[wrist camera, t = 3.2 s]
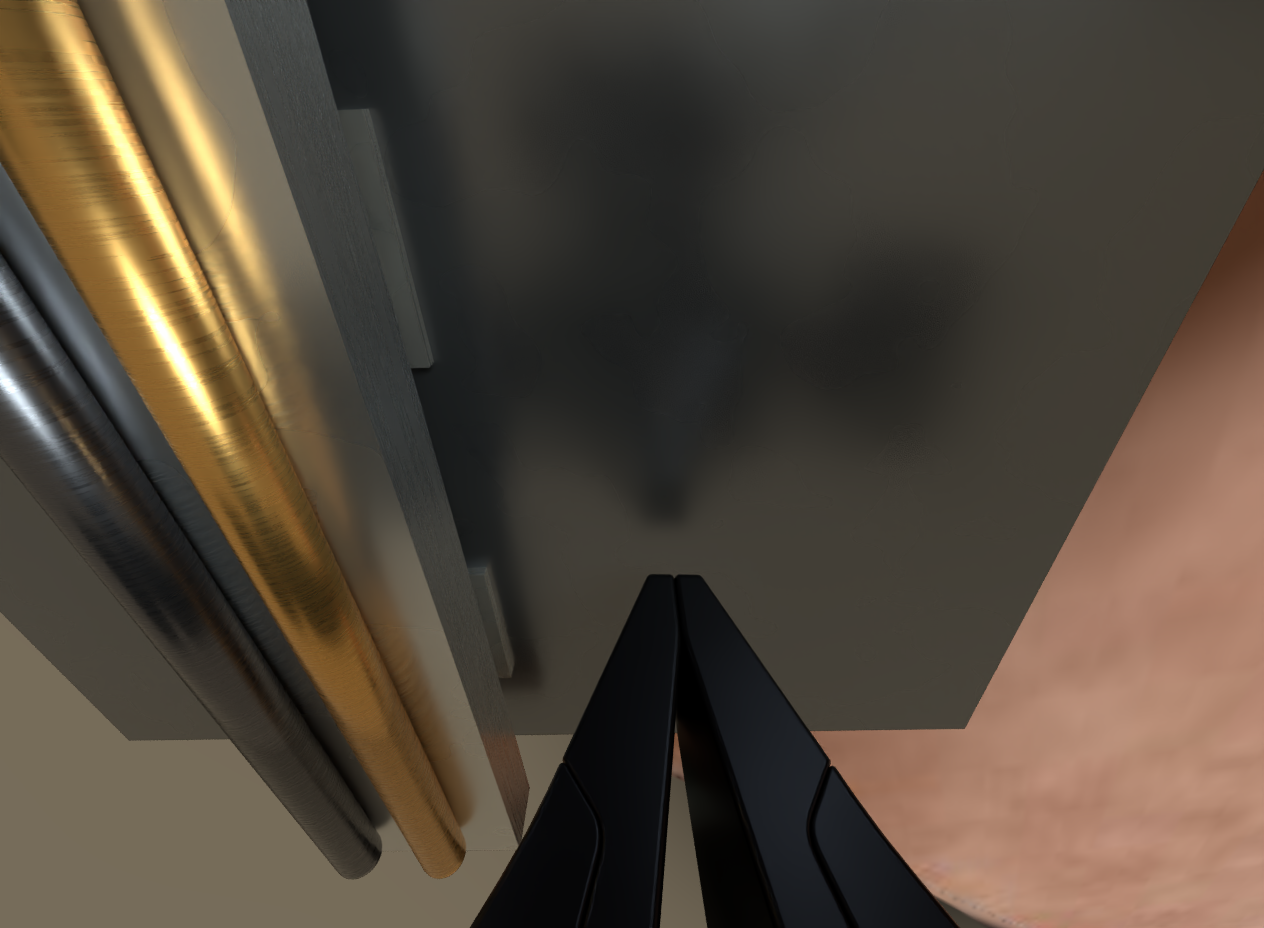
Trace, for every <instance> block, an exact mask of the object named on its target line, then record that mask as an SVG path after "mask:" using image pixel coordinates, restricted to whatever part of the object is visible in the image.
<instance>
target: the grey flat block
mask: <svg viewBox="0 0 1264 928" xmlns="http://www.w3.org/2000/svg"><path fill="white" fill-rule="evenodd" d="M306 1H307V5H308V8H309V12H310V15H311V19H312V22H313V26H314V29H315V33H316V36H317V40H318V43H319V47H320V50H321V54H322V58H323V61H324V65H325V68H326V72H327V75H328V79H329V82H330V86H331V89H332V93H333V96H334V100H335V103H336V107H337V110H338V114H339V117H340V121H341V124H342V128H343V132H344V135H345V139H346V142H347V146H348V149H349V153H350V156H351V160H352V163H353V167H354V170H355V174H356V177H357V181H358V184H359V188H360V191H361V195H362V198H363V202H364V206H365V209H366V213H367V216H368V220H369V223H370V227H371V230H372V234H373V237H374V241H375V244H376V248H377V251H378V255H379V258H380V262H381V265H382V269H383V272H384V276H385V280H386V283H387V287H388V290H389V294H390V297H391V301H392V304H393V308H394V311H395V315H396V318H397V322H398V325H399V329H400V332H401V336H402V339H403V343H404V347H405V350H406V354H407V357H408V361H409V364H410V368H411V371H412V375H413V378H414V382H415V385H416V389H417V392H418V396H419V399H420V403H421V406H422V410H423V413H424V417H425V421H426V424H427V428H428V431H429V435H430V438H431V442H432V445H433V449H434V452H435V456H436V459H437V463H438V466H439V470H440V473H441V477H442V480H443V484H444V487H445V491H446V495H447V498H448V502H449V505H450V509H451V512H452V516H453V519H454V523H455V526H456V530H457V533H458V537H459V540H460V544H461V547H462V551H463V554H464V558H465V562H466V565H467V569H468V572H469V576H470V579H471V583H472V586H473V590H474V593H475V597H476V600H477V604H478V607H479V611H480V614H481V618H482V621H483V625H484V628H485V632H486V636H487V639H488V643H489V646H490V650H491V653H492V657H493V660H494V664H495V667H496V671H497V674H498V678H499V681H500V685H501V688H502V692H503V695H504V699H505V702H506V706H507V710H508V713H509V717H510V720H511V724H512V727H513V731H514V734H515V735H549V734H550V735H551V734H552V735H555V734H556V735H557V734H574V733H575V731H576V728H577V726H578V724H579V722H580V720H581V718H582V716H583V713H584V711H585V709H586V707H587V705H588V703H589V700H590V698H591V696H592V694H593V692H594V690H595V687H596V685H597V683H598V681H599V679H600V677H601V675H602V672H603V670H604V668H605V666H606V664H607V662H608V659H609V657H610V655H611V653H612V651H613V649H614V646H615V644H616V642H617V640H618V638H619V636H620V634H621V631H622V629H623V627H624V625H625V623H626V621H627V618H628V616H629V614H630V612H631V610H632V608H633V606H634V603H635V601H636V599H637V597H638V595H639V593H640V590H641V588H642V586H643V584H644V582H645V580H646V578H647V576H648V575H650V574H671V575H673V577H674V578H675V576H676V575H678V574H694V575H700V576H702V577H703V579H704V580H705V581H706V583H707V584H708V586H709V587H710V589H711V590H712V591H713V593H714V594H715V596H716V597H717V599H718V600H719V602H720V603H721V604H722V606H723V607H724V609H725V610H726V612H727V613H728V614H729V616H730V617H731V619H732V620H733V622H734V623H735V624H736V626H737V627H738V629H739V630H740V632H741V633H742V635H743V636H744V637H745V639H746V640H747V642H748V643H749V645H750V646H751V647H752V649H753V650H754V652H755V653H756V655H757V656H758V657H759V659H760V660H761V662H762V663H763V665H764V666H765V668H766V669H767V670H768V672H769V673H770V675H771V676H772V678H773V679H774V680H775V682H776V683H777V685H778V686H779V688H780V689H781V690H782V692H783V693H784V695H785V696H786V698H787V699H788V700H789V702H790V703H791V705H792V706H793V708H794V709H795V711H796V712H797V713H798V715H799V716H800V718H801V719H802V721H803V722H804V723H805V725H806V726H807V728H808V729H809V731H841V730H912V729H965V727H966V725H967V723H968V721H969V719H970V718H971V716H972V714H973V712H974V710H975V708H976V706H977V705H978V703H979V701H980V699H981V697H982V695H983V693H984V691H985V690H986V688H987V686H988V684H989V682H990V680H991V678H992V676H993V675H994V673H995V671H996V669H997V667H998V665H999V663H1000V662H1001V660H1002V658H1003V656H1004V654H1005V652H1006V650H1007V648H1008V647H1009V645H1010V643H1011V641H1012V639H1013V637H1014V635H1015V633H1016V632H1017V630H1018V628H1019V626H1020V624H1021V622H1022V620H1023V619H1024V617H1025V615H1026V613H1027V611H1028V609H1029V607H1030V605H1031V604H1032V602H1033V600H1034V598H1035V596H1036V594H1037V592H1038V590H1039V589H1040V587H1041V585H1042V583H1043V581H1044V579H1045V577H1046V575H1047V574H1048V572H1049V570H1050V568H1051V566H1052V564H1053V562H1054V561H1055V559H1056V557H1057V555H1058V553H1059V551H1060V549H1061V547H1062V546H1063V544H1064V542H1065V540H1066V538H1067V536H1068V534H1069V532H1070V531H1071V529H1072V527H1073V525H1074V523H1075V521H1076V519H1077V518H1078V516H1079V514H1080V512H1081V510H1082V508H1083V506H1084V504H1085V503H1086V501H1087V499H1088V497H1089V495H1090V493H1091V491H1092V489H1093V488H1094V486H1095V484H1096V482H1097V480H1098V478H1099V476H1100V475H1101V473H1102V471H1103V469H1104V467H1105V465H1106V463H1107V461H1108V460H1109V458H1110V456H1111V454H1112V452H1113V450H1114V448H1115V446H1116V445H1117V443H1118V441H1119V439H1120V437H1121V435H1122V433H1123V432H1124V430H1125V428H1126V426H1127V424H1128V422H1129V420H1130V418H1131V417H1132V415H1133V413H1134V411H1135V409H1136V407H1137V405H1138V403H1139V402H1140V400H1141V398H1142V396H1143V394H1144V392H1145V390H1146V389H1147V387H1148V385H1149V383H1150V381H1151V379H1152V377H1153V375H1154V374H1155V372H1156V370H1157V368H1158V366H1159V364H1160V362H1161V360H1162V359H1163V357H1164V355H1165V353H1166V351H1167V349H1168V347H1169V345H1170V344H1171V342H1172V340H1173V338H1174V336H1175V334H1176V332H1177V331H1178V329H1179V327H1180V325H1181V323H1182V321H1183V319H1184V317H1185V316H1186V314H1187V312H1188V310H1189V308H1190V306H1191V304H1192V302H1193V301H1194V299H1195V297H1196V295H1197V293H1198V291H1199V289H1200V288H1201V286H1202V284H1203V282H1204V280H1205V278H1206V276H1207V274H1208V273H1209V271H1210V269H1211V267H1212V265H1213V263H1214V261H1215V259H1216V258H1217V256H1218V254H1219V252H1220V250H1221V248H1222V246H1223V245H1224V243H1225V241H1226V239H1227V237H1228V235H1229V233H1230V231H1231V230H1232V228H1233V226H1234V224H1235V222H1236V220H1237V218H1238V216H1239V215H1240V213H1241V211H1242V209H1243V207H1244V205H1245V203H1246V202H1247V200H1248V198H1249V196H1250V194H1251V192H1252V190H1253V188H1254V187H1255V185H1256V183H1257V181H1258V179H1259V177H1260V175H1261V173H1262V172H1263V170H1264V0H306ZM0 612H1V613H2V614H3V615H4V616H5V617H6V618H7V619H8V620H9V621H10V622H11V623H12V624H13V625H14V626H15V627H16V628H17V629H18V630H19V631H20V632H21V633H22V634H23V635H24V636H25V637H26V638H27V639H28V640H29V641H30V642H31V643H32V644H33V645H34V646H35V647H36V648H37V649H38V650H39V651H40V652H41V653H42V654H43V655H44V656H45V657H46V658H47V659H48V660H49V661H50V662H51V663H52V664H53V665H54V666H55V667H56V668H57V669H58V670H59V671H60V672H61V673H62V674H63V675H64V676H65V677H66V678H67V679H68V680H69V681H70V682H71V683H72V684H73V685H74V686H75V687H76V688H77V689H78V690H79V691H80V692H81V693H82V694H83V695H84V696H85V697H86V698H87V699H88V700H89V701H90V702H91V703H92V704H93V705H94V706H95V707H96V708H97V709H98V710H99V711H100V712H101V713H102V714H103V715H104V716H105V717H106V718H107V719H108V720H109V721H110V722H111V723H112V724H113V725H114V726H115V727H116V728H117V729H118V730H119V731H120V732H121V733H122V734H123V735H124V736H125V737H126V738H127V739H128V740H195V739H196V740H197V739H200V740H201V739H229V738H228V736H227V735H226V734H225V733H224V731H223V730H222V729H221V728H220V727H219V725H218V724H217V723H216V722H215V720H214V719H213V718H212V717H211V715H210V714H209V713H208V712H207V711H206V709H205V708H204V707H203V706H202V704H201V703H200V702H199V701H198V699H197V698H196V697H195V696H194V695H193V693H192V692H191V691H190V690H189V688H188V687H187V686H186V685H185V683H184V682H183V681H182V680H181V679H180V677H179V676H178V675H177V674H176V672H175V671H174V670H173V669H172V667H171V666H170V665H169V664H168V663H167V661H166V660H165V659H164V658H163V656H162V655H161V654H160V653H159V651H158V650H157V649H156V648H155V647H154V645H153V644H152V643H151V642H150V640H149V639H148V638H147V637H146V635H145V634H144V633H143V632H142V631H141V629H140V628H139V627H138V626H137V624H136V623H135V622H134V621H133V619H132V618H131V617H130V616H129V615H128V613H127V612H126V611H125V610H124V608H123V607H122V606H121V605H120V603H119V602H118V601H117V600H116V599H115V597H114V596H113V595H112V594H111V592H110V591H109V590H108V589H107V587H106V586H105V585H104V584H103V583H102V581H101V580H100V579H99V578H98V576H97V575H96V574H95V573H94V571H93V570H92V569H91V568H90V567H89V565H88V564H87V563H86V562H85V560H84V559H83V558H82V557H81V555H80V554H79V553H78V552H77V551H76V549H75V548H74V547H73V546H72V544H71V543H70V542H69V541H68V539H67V538H66V537H65V536H64V535H63V533H62V532H61V531H60V530H59V528H58V527H57V526H56V525H55V523H54V522H53V521H52V520H51V519H50V517H49V516H48V515H47V514H46V512H45V511H44V510H43V509H42V507H41V506H40V505H39V504H38V503H37V501H36V500H35V499H34V498H33V496H32V495H31V494H30V493H29V491H28V490H27V489H26V488H25V487H24V485H23V484H22V483H21V482H20V480H19V479H18V478H17V477H16V475H15V474H14V473H13V472H12V471H11V469H10V468H9V467H8V466H7V464H6V463H5V462H4V461H3V459H2V458H1V457H0ZM675 733H677V727H676V722H675Z"/></svg>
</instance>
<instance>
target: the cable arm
mask: <svg viewBox="0 0 1264 928" xmlns="http://www.w3.org/2000/svg"><path fill="white" fill-rule="evenodd" d="M0 457H1V458H2V459H3V461H4V462H5V463H6V464H7V466H8V467H9V468H10V469H11V471H12V472H13V473H14V474H15V475H16V477H17V478H18V479H19V480H20V482H21V483H22V484H23V485H24V487H25V488H26V489H27V490H28V491H29V493H30V494H31V495H32V496H33V498H34V499H35V500H36V501H37V503H38V504H39V505H40V506H41V507H42V509H43V510H44V511H45V512H46V514H47V515H48V516H49V517H50V519H51V520H52V521H53V522H54V523H55V525H56V526H57V527H58V528H59V530H60V531H61V532H62V533H63V535H64V536H65V537H66V538H67V539H68V541H69V542H70V543H71V544H72V546H73V547H74V548H75V549H76V551H77V552H78V553H79V554H80V555H81V557H82V558H83V559H84V560H85V562H86V563H87V564H88V565H89V567H90V568H91V569H92V570H93V571H94V573H95V574H96V575H97V576H98V578H99V579H100V580H101V581H102V583H103V584H104V585H105V586H106V587H107V589H108V590H109V591H110V592H111V594H112V595H113V596H114V597H115V599H116V600H117V601H118V602H119V603H120V605H121V606H122V607H123V608H124V610H125V611H126V612H127V613H128V615H129V616H130V617H131V618H132V619H133V621H134V622H135V623H136V624H137V626H138V627H139V628H140V629H141V631H142V632H143V633H144V634H145V635H146V637H147V638H148V639H149V640H150V642H151V643H152V644H153V645H154V647H155V648H156V649H157V650H158V651H159V653H160V654H161V655H162V656H163V658H164V659H165V660H166V661H167V663H168V664H169V665H170V666H171V667H172V669H173V670H174V671H175V672H176V674H177V675H178V676H179V677H180V679H181V680H182V681H183V682H184V683H185V685H186V686H187V687H188V688H189V690H190V691H191V692H192V693H193V695H194V696H195V697H196V698H197V699H198V701H199V702H200V703H201V704H202V706H203V707H204V708H205V709H206V711H207V712H208V713H209V714H210V715H211V717H212V718H213V719H214V720H215V722H216V723H217V724H218V725H219V727H220V728H221V729H222V730H223V731H224V733H225V734H226V735H227V736H228V738H229V739H230V740H231V741H232V743H233V744H234V745H235V746H236V747H237V749H238V750H239V751H240V752H241V753H242V755H243V756H244V757H245V759H246V760H247V761H248V762H249V763H250V765H251V766H252V767H253V768H254V770H255V771H256V772H257V773H258V775H259V776H260V777H261V778H262V779H263V781H264V782H265V783H266V784H267V785H268V787H269V788H270V789H271V791H272V792H273V793H274V794H275V795H276V797H277V798H278V799H279V800H280V802H281V803H282V804H283V805H284V807H285V808H286V809H287V810H288V811H289V813H290V814H291V815H292V816H293V818H294V819H295V820H296V821H297V822H298V824H299V825H300V826H301V827H302V829H303V830H304V831H305V832H306V834H307V835H308V836H309V837H310V839H311V840H312V841H313V842H314V843H315V845H316V846H317V847H318V848H319V850H320V851H321V852H322V853H323V854H324V856H325V857H326V858H327V859H328V861H329V862H330V863H331V864H332V866H333V867H334V868H335V869H336V871H337V872H338V873H339V874H340V875H341V876H343V877H344V878H346V879H358V878H361V877H363V876H365V875H367V874H368V873H369V872H370V871H371V870H372V869H373V868H374V867H375V866H376V864H377V863H378V861H379V859H380V856H381V853H382V851H413V853H414V854H415V856H416V858H417V860H418V861H419V863H420V864H421V866H422V868H423V870H424V871H425V872H426V873H427V874H428V875H429V876H430V877H433V878H437V879H442V878H446V877H448V876H450V875H452V874H453V873H454V872H456V870H457V869H458V868H459V867H460V866H461V864H462V862H463V860H464V857H465V853H466V851H473V850H474V851H478V850H516V849H517V848H518V846H519V844H520V842H521V840H522V834H523V826H524V821H525V814H526V808H527V802H528V795H529V789H530V787H529V784H528V780H527V777H526V773H525V769H524V766H523V762H522V759H521V755H520V752H519V748H518V745H517V741H516V738H515V734H514V731H513V727H512V724H511V720H510V717H509V713H508V710H507V706H506V702H505V699H504V695H503V692H502V688H501V685H500V681H499V678H498V674H497V671H496V667H495V664H494V660H493V657H492V653H491V650H490V646H489V643H488V639H487V636H486V632H485V628H484V625H483V621H482V618H481V614H480V611H479V607H478V604H477V600H476V597H475V593H474V590H473V586H472V583H471V579H470V576H469V572H468V569H467V565H466V562H465V558H464V554H463V551H462V547H461V544H460V540H459V537H458V533H457V530H456V526H455V523H454V519H453V516H452V512H451V509H450V505H449V502H448V498H447V495H446V491H445V487H444V484H443V480H442V477H441V473H440V470H439V466H438V463H437V459H436V456H435V452H434V449H433V445H432V442H431V438H430V435H429V431H428V428H427V424H426V421H425V417H424V413H423V410H422V406H421V403H420V399H419V396H418V392H417V389H416V385H415V382H414V378H413V375H412V371H411V368H410V364H409V361H408V357H407V354H406V350H405V347H404V343H403V339H402V336H401V332H400V329H399V325H398V322H397V318H396V315H395V311H394V308H393V304H392V301H391V297H390V294H389V290H388V287H387V283H386V280H385V276H384V272H383V269H382V265H381V262H380V258H379V255H378V251H377V248H376V244H375V241H374V237H373V234H372V230H371V227H370V223H369V220H368V216H367V213H366V209H365V206H364V202H363V198H362V195H361V191H360V188H359V184H358V181H357V177H356V174H355V170H354V167H353V163H352V160H351V156H350V153H349V149H348V146H347V142H346V139H345V135H344V132H343V128H342V124H341V121H340V117H339V114H338V110H337V107H336V103H335V100H334V96H333V93H332V89H331V86H330V82H329V79H328V75H327V72H326V68H325V65H324V61H323V58H322V54H321V50H320V47H319V43H318V40H317V36H316V33H315V29H314V26H313V22H312V19H311V15H310V12H309V8H308V5H307V1H306V0H0Z"/></svg>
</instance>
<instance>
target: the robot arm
mask: <svg viewBox="0 0 1264 928" xmlns="http://www.w3.org/2000/svg"><path fill="white" fill-rule="evenodd" d="M675 722H676V727H677V734H678V741H679V747H680V754H681V760H682V767H683V773H684V780H685V786H686V792H687V799H688V805H689V812H690V819H691V825H692V831H693V838H694V845H695V851H696V858H697V864H698V871H699V877H700V884H701V890H702V897H703V903H704V909H705V916H706V923H707V928H960V927H959V926H958V924H957V923H956V922H955V921H954V920H953V919H952V917H951V916H950V915H949V914H948V913H947V911H946V910H945V909H944V908H943V907H942V905H941V904H940V903H939V902H938V901H937V899H936V898H935V897H934V896H933V895H932V893H931V892H930V891H929V890H928V889H927V887H926V886H925V885H924V884H923V883H922V881H921V880H920V879H919V878H918V877H917V875H916V874H915V873H914V872H913V870H912V869H911V868H910V867H909V865H908V864H907V863H906V862H905V860H904V859H903V858H902V857H901V855H900V854H899V853H898V852H897V851H896V849H895V848H894V847H893V846H892V844H891V843H890V842H889V841H888V839H887V838H886V837H885V836H884V834H883V833H882V832H881V830H880V829H879V828H878V826H877V825H876V823H875V822H874V821H873V819H872V818H871V817H870V815H869V814H868V813H867V811H866V810H865V808H864V807H863V806H862V804H861V803H860V802H859V800H858V799H857V798H856V796H855V795H854V793H853V792H852V791H851V789H850V788H849V786H848V785H847V783H846V782H845V780H844V779H843V778H842V776H841V775H840V773H839V772H838V770H837V769H836V768H835V767H834V766H830V764H831V762H830V759H829V758H828V756H827V755H826V754H825V752H824V751H823V749H822V748H821V746H820V745H819V744H818V742H817V741H816V739H815V738H814V736H813V735H812V733H811V732H810V731H809V729H808V728H807V726H806V725H805V723H804V722H803V721H802V719H801V718H800V716H799V715H798V713H797V712H796V711H795V709H794V708H793V706H792V705H791V703H790V702H789V700H788V699H787V698H786V696H785V695H784V693H783V692H782V690H781V689H780V688H779V686H778V685H777V683H776V682H775V680H774V679H773V678H772V676H771V675H770V673H769V672H768V670H767V669H766V668H765V666H764V665H763V663H762V662H761V660H760V659H759V657H758V656H757V655H756V653H755V652H754V650H753V649H752V647H751V646H750V645H749V643H748V642H747V640H746V639H745V637H744V636H743V635H742V633H741V632H740V630H739V629H738V627H737V626H736V624H735V623H734V622H733V620H732V619H731V617H730V616H729V614H728V613H727V612H726V610H725V609H724V607H723V606H722V604H721V603H720V602H719V600H718V599H717V597H716V596H715V594H714V593H713V591H712V590H711V589H710V587H709V586H708V584H707V583H706V581H705V580H704V579H703V577H702V576H700V575H694V574H678V575H676V576H675V578H674V577H673V575H671V574H650V575H648V576H647V578H646V580H645V582H644V584H643V586H642V588H641V590H640V593H639V595H638V597H637V599H636V601H635V603H634V606H633V608H632V610H631V612H630V614H629V616H628V618H627V621H626V623H625V625H624V627H623V629H622V631H621V634H620V636H619V638H618V640H617V642H616V644H615V646H614V649H613V651H612V653H611V655H610V657H609V659H608V662H607V664H606V666H605V668H604V670H603V672H602V675H601V677H600V679H599V681H598V683H597V685H596V687H595V690H594V692H593V694H592V696H591V698H590V700H589V703H588V705H587V707H586V709H585V711H584V713H583V716H582V718H581V720H580V722H579V724H578V726H577V728H576V731H575V733H574V735H573V737H572V739H571V741H570V744H569V746H568V748H567V750H566V752H565V755H564V757H563V763H561V764H560V765H559V767H558V769H557V771H556V773H555V775H554V778H553V779H552V782H551V784H550V786H549V788H548V790H547V792H546V794H545V796H544V798H543V800H542V802H541V804H540V806H539V808H538V810H537V812H536V814H535V816H534V818H533V820H532V822H531V824H530V826H529V828H528V830H527V832H526V834H525V835H524V837H523V839H522V841H521V842H520V844H519V846H518V848H517V849H516V851H515V853H514V855H513V856H512V858H511V860H510V862H509V864H508V865H507V867H506V869H505V871H504V872H503V874H502V876H501V877H500V879H499V881H498V882H497V884H496V886H495V887H494V889H493V891H492V892H491V894H490V896H489V897H488V899H487V901H486V902H485V904H484V905H483V907H482V909H481V910H480V912H479V914H478V916H477V917H476V918H475V920H474V922H473V924H472V925H471V927H470V928H660V918H661V905H662V892H663V879H664V866H665V853H666V839H667V826H668V814H669V801H670V788H671V775H672V761H673V748H674V735H675Z"/></svg>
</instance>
